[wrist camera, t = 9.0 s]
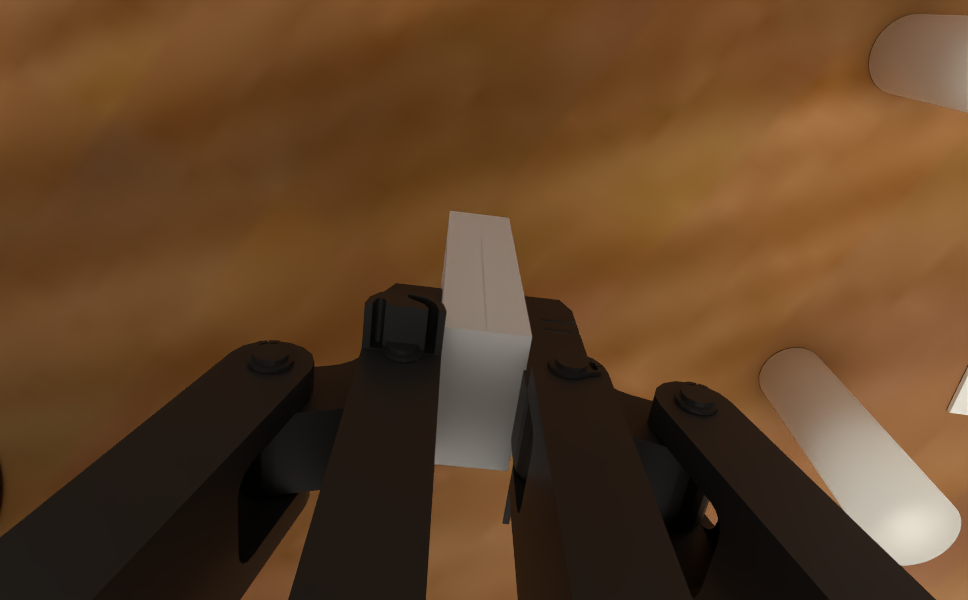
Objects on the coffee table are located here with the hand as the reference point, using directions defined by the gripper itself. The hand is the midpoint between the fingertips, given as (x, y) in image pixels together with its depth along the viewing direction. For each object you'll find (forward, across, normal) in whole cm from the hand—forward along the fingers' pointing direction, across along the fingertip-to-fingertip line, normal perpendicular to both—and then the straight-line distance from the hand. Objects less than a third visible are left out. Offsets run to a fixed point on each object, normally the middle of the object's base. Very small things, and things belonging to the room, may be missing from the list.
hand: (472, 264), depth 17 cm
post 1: (+8, -14, +6) cm, 17 cm away
